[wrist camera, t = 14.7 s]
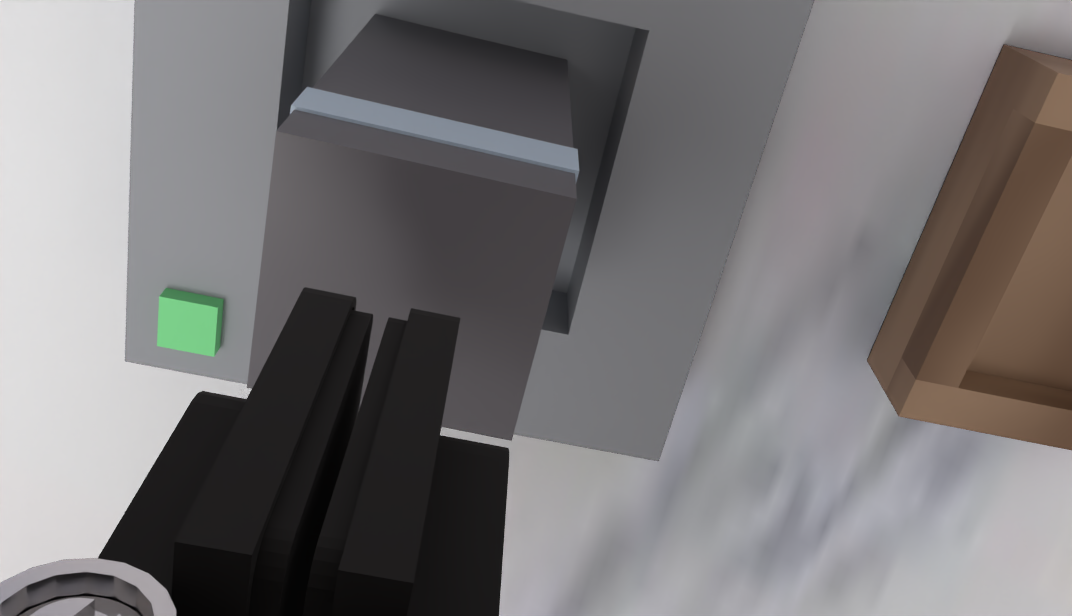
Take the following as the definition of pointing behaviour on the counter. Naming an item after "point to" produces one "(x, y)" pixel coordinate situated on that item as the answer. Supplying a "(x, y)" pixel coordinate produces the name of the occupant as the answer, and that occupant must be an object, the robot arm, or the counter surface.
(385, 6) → the port
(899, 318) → the wooden tray
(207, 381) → the counter surface
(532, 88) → the plug
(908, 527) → the counter surface
